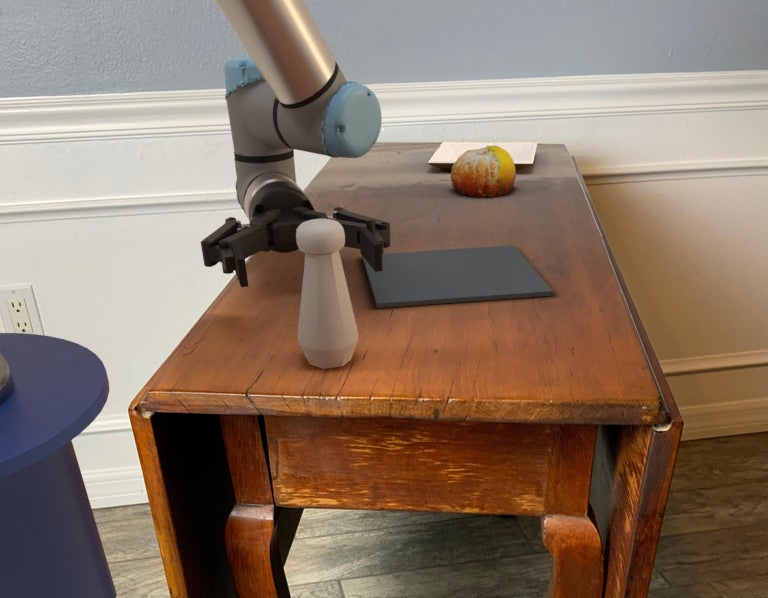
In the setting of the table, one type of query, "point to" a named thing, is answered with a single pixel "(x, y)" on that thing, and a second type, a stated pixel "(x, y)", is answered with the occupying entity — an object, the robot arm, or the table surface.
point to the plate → (452, 150)
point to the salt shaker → (325, 296)
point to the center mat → (454, 277)
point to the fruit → (484, 172)
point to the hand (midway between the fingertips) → (311, 265)
